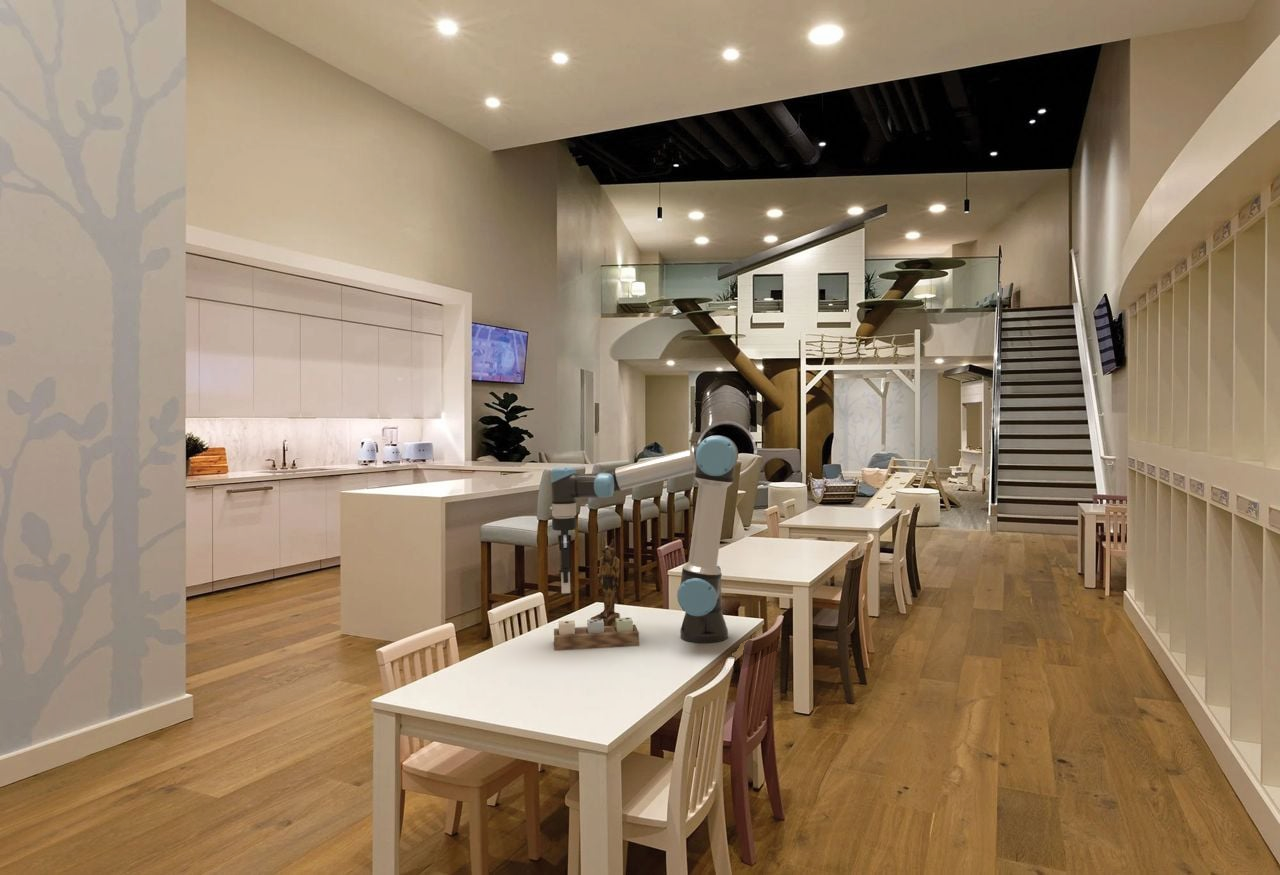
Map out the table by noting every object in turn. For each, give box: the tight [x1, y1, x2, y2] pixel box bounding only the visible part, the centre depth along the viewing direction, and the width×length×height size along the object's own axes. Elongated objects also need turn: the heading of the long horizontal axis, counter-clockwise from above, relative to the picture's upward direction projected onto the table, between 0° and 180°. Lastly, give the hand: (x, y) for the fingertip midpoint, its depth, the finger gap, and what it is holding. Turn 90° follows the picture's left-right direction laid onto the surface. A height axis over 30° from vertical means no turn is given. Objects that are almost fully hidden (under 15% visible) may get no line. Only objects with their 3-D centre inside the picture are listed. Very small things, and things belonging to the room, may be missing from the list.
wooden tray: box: [553, 624, 640, 651], centre depth 252 cm, size 26×11×4 cm, turn 97°
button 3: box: [586, 619, 604, 633], centre depth 252 cm, size 5×5×4 cm
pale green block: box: [615, 617, 634, 632], centre depth 253 cm, size 5×5×4 cm
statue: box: [589, 538, 621, 626], centre depth 272 cm, size 8×11×30 cm
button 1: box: [558, 620, 576, 635], centre depth 251 cm, size 5×5×4 cm
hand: (565, 592), depth 251 cm, fingers closed
